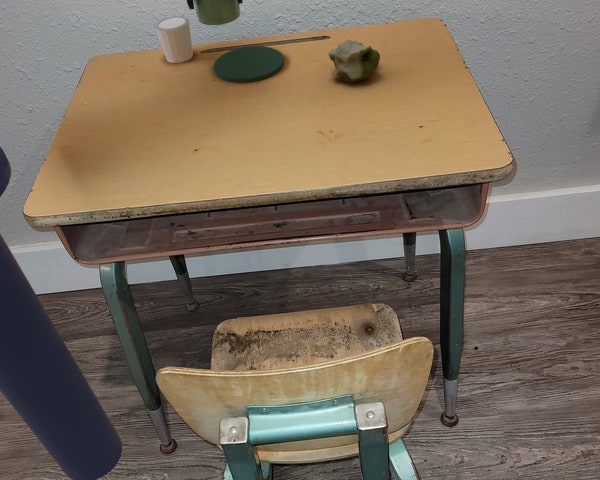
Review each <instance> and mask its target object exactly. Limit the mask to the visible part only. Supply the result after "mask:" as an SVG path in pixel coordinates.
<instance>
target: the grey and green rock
mask: <svg viewBox="0 0 600 480" xmlns="http://www.w3.org/2000/svg"><path fill="white" fill-rule="evenodd" d="M328 57H329V60H330V61H332V62H333V65H334V69H335V70H334V73H333V78H334V79H335V80H338V81H340V82H343V83H347V84H350V83H357V82H360V81H364V80H366V79H368V78H369V77H371V76H372V75H373V74H374V72H375V71H376V70H377V68H378V66H379V64H380V59H381V54H380V52H379V50H377V49H373V48H372V46H371V45H368V46H365V45H364V44H363V42H358V41H357V40H351V39H345V40H344V41H343V42H341V43H339V44H338V45H337V48H336V49H331V50H330V51H329V52H328Z"/></svg>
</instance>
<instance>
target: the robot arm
mask: <svg viewBox="0 0 600 480" xmlns="http://www.w3.org/2000/svg"><path fill="white" fill-rule="evenodd" d="M186 4H187V6H188V8H189V10H190V11H191V10H195V3H194V0H186ZM238 4H239V5H240V4H243V0H238Z"/></svg>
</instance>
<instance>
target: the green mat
mask: <svg viewBox="0 0 600 480" xmlns="http://www.w3.org/2000/svg"><path fill="white" fill-rule="evenodd" d="M284 65H285V57H284V55H283V53H282V52H281V51H280V50H278V49H276V48H273V47H268V46H262V45H253V46H252V45H251V46H243V47H239V48H235V49H232V50H229V51H227V52H225V53H223V54H221V55H220V56H219V57H217V59H216V60H215V61H214V64H213V70H214V73H215V74H216V76H217V77H219V78H220V79H222V80H225V81H227V82H233V83H252V82H257V81H261V80H264V79H267V78H270V77H273V76H274V75H276V74H277V73H279V72H280V71H281V70H282V69H283V67H284Z"/></svg>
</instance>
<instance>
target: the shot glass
mask: <svg viewBox="0 0 600 480" xmlns="http://www.w3.org/2000/svg"><path fill="white" fill-rule="evenodd" d="M154 29H155V31H156V33H157V37H158V40H159V42H160V46H161V49H162V51H163V54H164V57H165V59H166V62H168V63H171V64H181V63H185V62H187V61H190V60H191V59H192V58H193V57H194V53H193V52H194V51H193V44H192V43H193V42H192V34H191V27H190V20H189V18H188V17H185V16H180V15H179V16H178V15H177V16H175V15H174V16H169V17H165V18H162V19H159V20H158V21H157V22H155V24H154Z"/></svg>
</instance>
